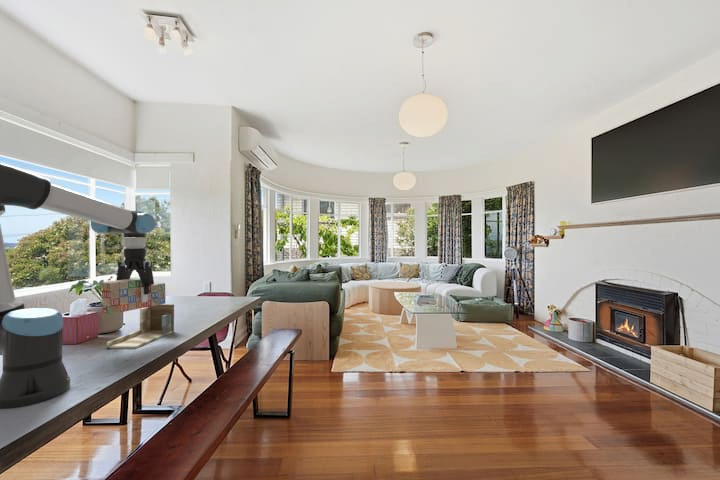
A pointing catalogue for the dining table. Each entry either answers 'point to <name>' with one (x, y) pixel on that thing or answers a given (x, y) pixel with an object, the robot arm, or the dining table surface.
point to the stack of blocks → (129, 295)
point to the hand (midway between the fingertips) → (135, 301)
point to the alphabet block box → (148, 327)
